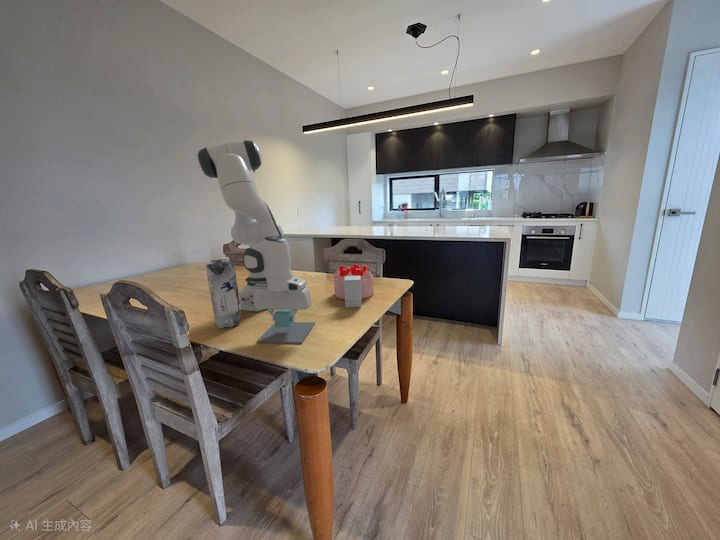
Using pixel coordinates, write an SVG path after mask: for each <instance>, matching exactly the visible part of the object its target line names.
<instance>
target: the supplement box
mask: <svg viewBox="0 0 720 540" xmlns="http://www.w3.org/2000/svg"><path fill="white" fill-rule="evenodd" d="M344 290H345V300H344V304H345V305H344V307H345V308H361V307H362V300H363V299H361V276H345V278H344Z"/></svg>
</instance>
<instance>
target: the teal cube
mask: <svg viewBox="0 0 720 540" xmlns="http://www.w3.org/2000/svg"><path fill="white" fill-rule="evenodd" d="M274 312H275V313H274V323H275V327H286V328H289V327H290V326H291V324H292V323H293V322H295V321H290V316H291V315H293V312H292V310H285V309H277V310H276V311H274Z"/></svg>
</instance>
